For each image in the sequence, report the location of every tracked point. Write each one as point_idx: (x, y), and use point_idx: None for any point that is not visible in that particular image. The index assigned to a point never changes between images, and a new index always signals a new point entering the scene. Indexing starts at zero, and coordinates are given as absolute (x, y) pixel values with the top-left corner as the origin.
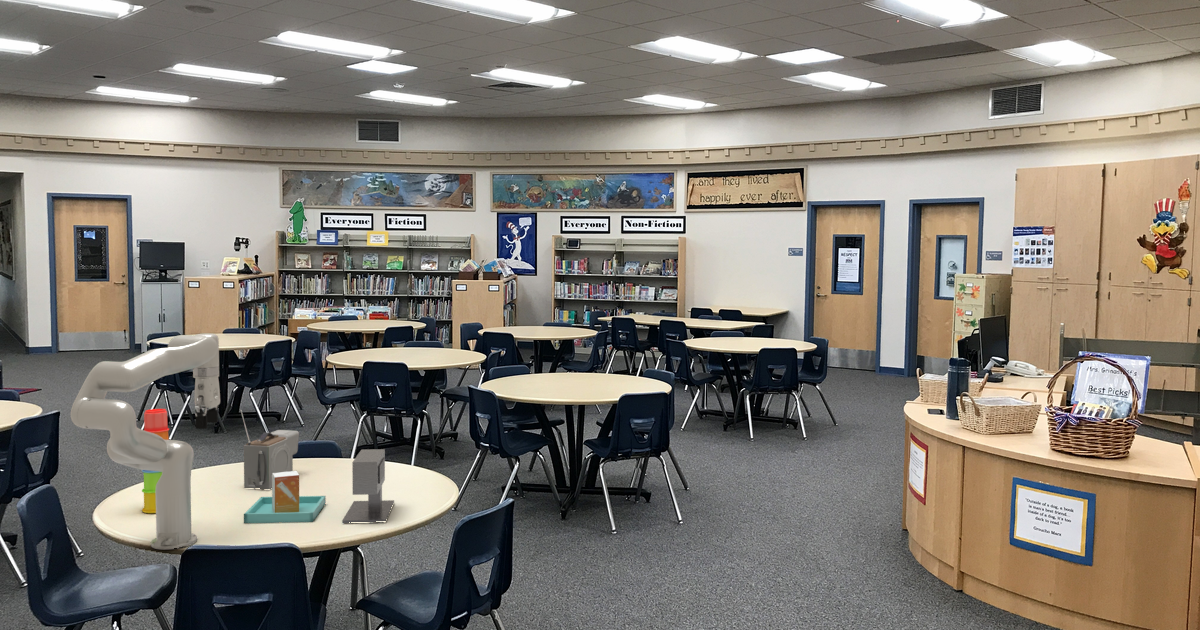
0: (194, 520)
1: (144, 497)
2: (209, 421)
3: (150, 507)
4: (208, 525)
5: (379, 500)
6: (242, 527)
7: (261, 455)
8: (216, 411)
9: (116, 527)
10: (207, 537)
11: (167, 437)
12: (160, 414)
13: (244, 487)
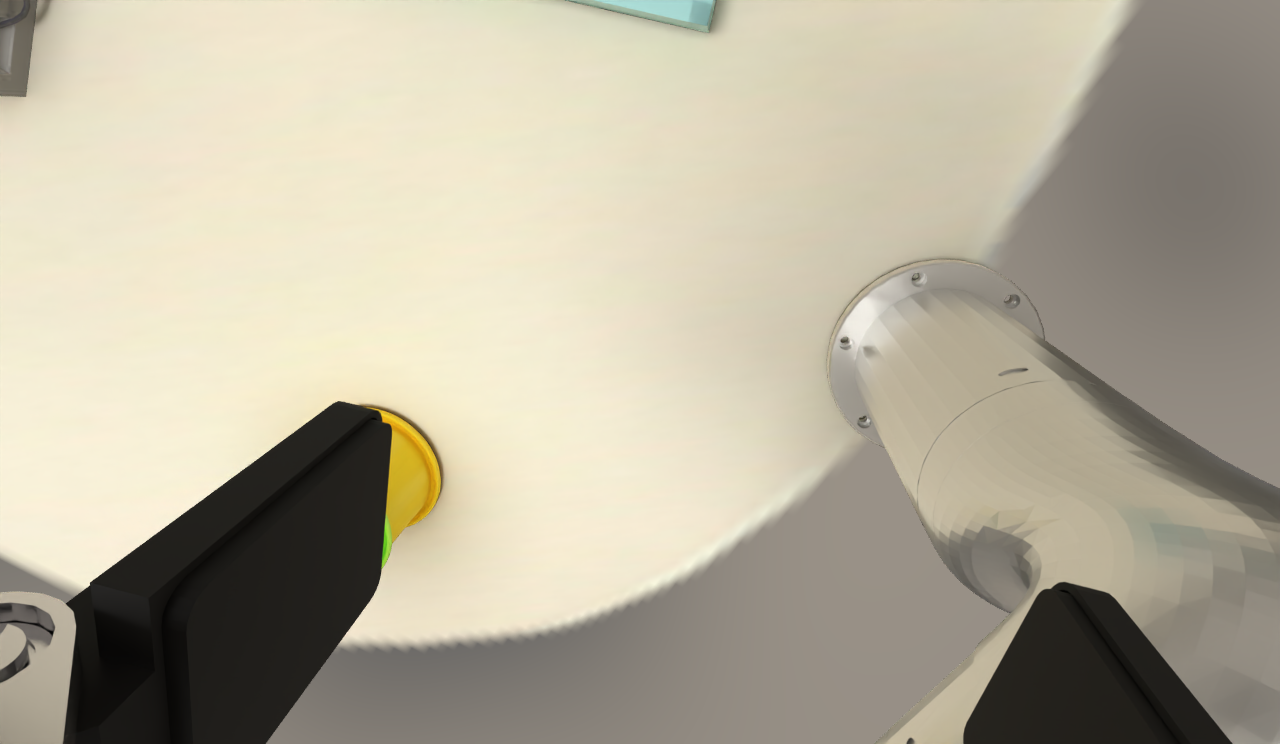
0: (581, 303)
1: None
2: (373, 556)
3: (419, 507)
4: (687, 227)
5: None
6: (787, 33)
7: None
8: (196, 583)
9: (602, 588)
10: (900, 212)
11: None
12: None
13: (18, 94)
